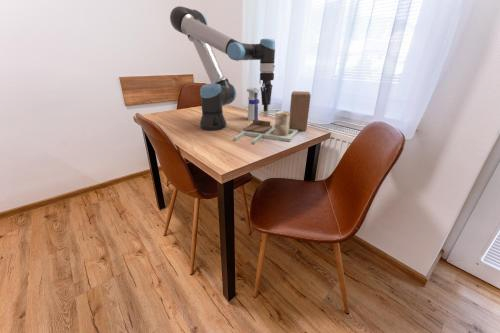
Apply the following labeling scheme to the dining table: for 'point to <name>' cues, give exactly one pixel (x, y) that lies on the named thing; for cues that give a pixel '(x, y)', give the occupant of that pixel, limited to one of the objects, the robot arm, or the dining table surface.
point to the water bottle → (253, 103)
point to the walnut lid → (259, 126)
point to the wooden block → (299, 110)
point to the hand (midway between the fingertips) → (266, 116)
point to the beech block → (282, 123)
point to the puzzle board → (267, 135)
